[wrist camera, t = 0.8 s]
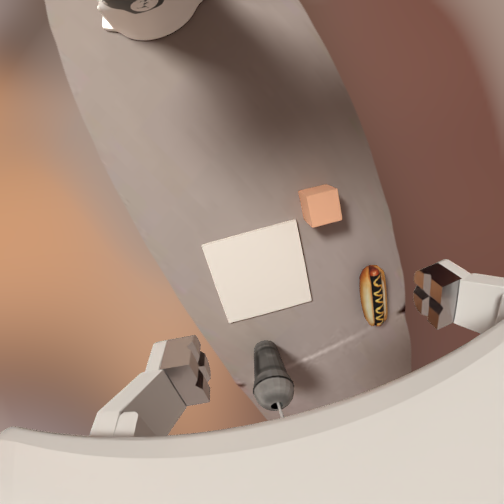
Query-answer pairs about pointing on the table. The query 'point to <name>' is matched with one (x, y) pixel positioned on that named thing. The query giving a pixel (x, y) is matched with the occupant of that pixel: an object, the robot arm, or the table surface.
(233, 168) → the table surface
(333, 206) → the cube
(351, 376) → the table surface
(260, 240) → the mat
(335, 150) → the table surface
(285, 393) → the beverage cup
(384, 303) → the hot dog
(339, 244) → the table surface
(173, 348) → the robot arm
